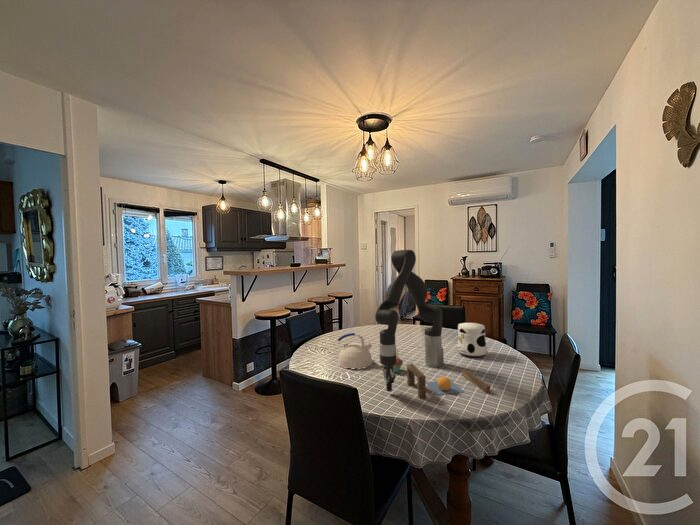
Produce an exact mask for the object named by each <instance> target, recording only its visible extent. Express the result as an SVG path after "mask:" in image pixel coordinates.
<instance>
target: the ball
mask: <svg viewBox="0 0 700 525" xmlns="http://www.w3.org/2000/svg"><path fill="white" fill-rule="evenodd" d="M450 380H451V379H450V378H449V377H447V376H441V377H439V378H438V380H437V381H438V387H439V388H440V389H441V390H444V391H447V390H449V389H450V387H451V382H450Z"/></svg>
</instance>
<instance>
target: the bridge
mask: <svg viewBox="0 0 700 525" xmlns="http://www.w3.org/2000/svg"><path fill="white" fill-rule="evenodd" d="M406 376H407V377H406V378H407V379H406V380H407V381H406V382H407V385H408V386H409V387H410V386H411V387H412V386H416V382H417V397H418V399H425V398H427V389H426V388H427V384H426V383H427V381H426V380H427V379H426V375H425V374H424V373H423V372H422V371H421V370H420V369H419V368H418V367H417V366H416V365H415V364H414V363H409V364H406ZM415 378H416V379H417V380H416V379H415ZM415 381H416V382H415Z"/></svg>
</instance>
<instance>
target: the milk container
mask: <svg viewBox="0 0 700 525" xmlns="http://www.w3.org/2000/svg"><path fill="white" fill-rule="evenodd" d="M457 336H458V338H457V343H456V349H457V351H458V353H459V354H461V355H462V356H466V357H472V358H476V357H477V358H479V357H483V356H486V354H487V352H488V345H487V341H486V328H485V325H484V324H482V323H477V322H462V323H458V324H457Z"/></svg>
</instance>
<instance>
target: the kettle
mask: <svg viewBox="0 0 700 525" xmlns="http://www.w3.org/2000/svg"><path fill="white" fill-rule="evenodd" d="M351 336H353V337H355V336H356V337H358V338H359V339H360V341H361V343H359V342H358V343H357V342H352V343H346V344H344V346H343V348H342V349H341V350H340V352H339V355H338V362H337V364H338V363H339V364H340V365H341V366H343V367H347V368H363V367H367V366H369V365H370V366H372V364H373V360H372V354H371V352H370V349H371V348H373V345H372V344H371V343H370V341H369V342H368V343H366V344H365V340H364V337H363V336H362V335H361V334H359V333H356V332H352V333H347V334H344V335H342V336H340V337H339V338H338V339H337V341H338V342H340V341H342V339H345V338H347V337H351ZM371 363H372V364H371ZM370 366H369V367H370ZM367 368H368V367H367ZM363 369H364V368H363Z"/></svg>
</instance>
